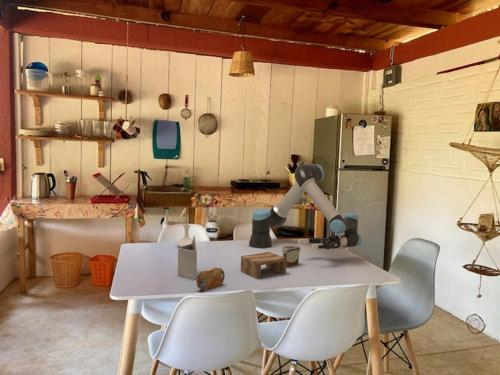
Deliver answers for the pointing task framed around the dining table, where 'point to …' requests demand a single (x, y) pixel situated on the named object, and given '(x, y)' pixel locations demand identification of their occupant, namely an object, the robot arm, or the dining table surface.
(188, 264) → the planter
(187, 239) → the flower in vase
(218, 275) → the tin
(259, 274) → the walnut shelf
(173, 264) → the dining table surface
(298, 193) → the robot arm
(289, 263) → the food container
